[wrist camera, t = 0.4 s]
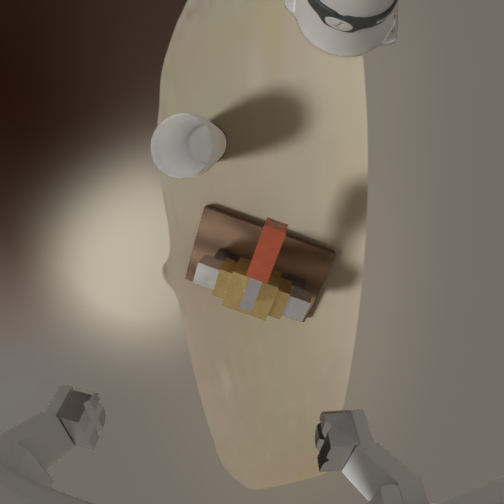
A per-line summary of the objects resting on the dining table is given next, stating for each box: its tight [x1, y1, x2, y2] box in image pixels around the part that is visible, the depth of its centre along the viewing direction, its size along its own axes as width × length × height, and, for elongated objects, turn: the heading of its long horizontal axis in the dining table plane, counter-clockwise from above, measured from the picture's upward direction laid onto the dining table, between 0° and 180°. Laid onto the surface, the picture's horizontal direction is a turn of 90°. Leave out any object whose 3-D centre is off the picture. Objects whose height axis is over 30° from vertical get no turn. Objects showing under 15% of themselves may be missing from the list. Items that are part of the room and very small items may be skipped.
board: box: [185, 206, 336, 322], centre depth 55 cm, size 14×23×2 cm, turn 72°
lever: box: [239, 217, 288, 312], centre depth 42 cm, size 13×3×5 cm, turn 162°
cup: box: [151, 114, 226, 179], centre depth 44 cm, size 9×9×12 cm
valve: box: [193, 249, 311, 322], centre depth 51 cm, size 6×18×8 cm, turn 72°
